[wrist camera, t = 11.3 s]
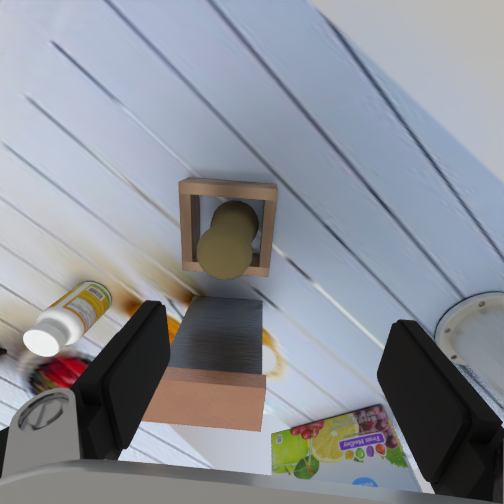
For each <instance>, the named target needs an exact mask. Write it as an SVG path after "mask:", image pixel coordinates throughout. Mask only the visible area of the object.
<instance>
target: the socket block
mask: <svg viewBox="0 0 504 504" xmlns="http://www.w3.org/2000/svg"><path fill="white" fill-rule="evenodd" d="M277 191H278V189H277V186H276V184H268V183H255V182H241V181H228V180H215V179H201V178H187V179H184V180H182V181H179V203H180V224H181V245H182V265H183V270H187V271H199V272H205V271H204V270H203V269H202V268H201V266H200V265H199V262H198V259H197V245H198V242H199V239H200V205H199V195H206V196H219V197H232V198H245V199H258V200H264V210H263V222H262V233H261V245H260V254H254V253H252V261H251V263H250V265H249V267H248V268H247V270H246V271H245V272H244V273H243V274H242V275H249V276H261V277H268V276H269V266H270V257H271V248H272V238H273V229H274V219H275V210H276V201H277Z"/></svg>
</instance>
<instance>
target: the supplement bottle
mask: <svg viewBox="0 0 504 504" xmlns="http://www.w3.org/2000/svg"><path fill="white" fill-rule="evenodd" d="M110 305H111V296H110V294H109V292H108V291H107V290H106V289H105V288H104V287H103V286H102V285H100V284H98V283H95V282H83V283H81V284H79V285H78V286H76V287H75V288H74V289H72V290H71V291H70V292H68V293H67V294H66V295H64V296H63V297H62V298H60V299H59V300H58V301H56V302H55V303H54V304H52V305H51V306H50V307H48V308H47V309H45V310H44V311H43V312H42V313H41V314H40V315H39V316H38V318H37V324H36V325H34V326H33V327H32V328H31V329H29V330H28V331H27V332H26V333H25V334H24V337H23V340H24V343H25V345H26V346H27V348H28V349H29V350H31V351H32V352H34V353H35V354H38V355H41V356H53V355H55V354H57V353H58V352H59V351H60V350H61V349H62V348H63V347H64V346H65V345H69V344H73V343H75V342H76V341H78V340H79V339H80V338H81V337H82V336H83V335H84V334H85V333H86V332H87V331H88V330H89V329H90V328H91V327H92V326H93V324H94V323H95V322H96V321H97V320H98V319H99V318H100V317H101V316H102V315H103V314H104V313H105V312H106V311H107V310H108V309H109V307H110Z"/></svg>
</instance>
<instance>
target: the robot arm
mask: <svg viewBox="0 0 504 504" xmlns="http://www.w3.org/2000/svg"><path fill="white" fill-rule="evenodd" d="M435 341H436V344H435V342H434V341H433V340H432V339H431V338H430V337H429V335H428V334H427V333H426V332H425V331H424V330H423V328H422V327H421V326H420V325H419V324H418V323H417V322H416V321H414V320H398V321H397V322H396V323H393V324H392V327H391V330H390V333H389V336H388V339H387V343H386V346H385V349H384V352H383V355H382V358H381V362H380V365H379V368H378V371H377V378H378V382H379V384H380V386H381V388H382V390H383V393H384V395H385V397H386V399H387V401H388V403H389V405H390V408H391V410H392V412H393V414H394V416H395V418H396V420H397V422H398V425H399V427H400V429H401V431H402V433H403V435H404V437H405V440H406V442H407V444H408V446H409V448H410V450H411V452H412V455H413V457H414V459H415V461H416V463H417V465H418V467H419V469H420V472H421V474H422V476H423V477H424V479H425V480H426V481H427V482H430V484H431V486H432V488H433V490H434V492H435V494H430V493H422V492H413V491H404V490H396V489H387V488H378V487H370V486H361V485H352V484H344V483H335V482H325V481H316V480H307V479H298V478H289V477H280V476H270V475H261V474H251V473H243V472H233V471H223V470H214V469H204V468H194V467H184V466H175V465H165V464H154V463H142V462H130V461H117V460H118V458H119V456H120V454H121V452H122V450H123V449H127V448H128V447H129V445H130V443H131V441H132V439H133V437H134V435H135V433H136V431H137V429H138V426H139V424H140V422H141V420H142V418H143V416H144V414H145V412H146V410H147V408H148V406H149V404H150V401H151V399H152V397H153V395H154V393H155V391H156V389H157V387H158V385H159V383H160V381H161V379H162V377H163V374H164V372H165V370H166V368H167V366H168V364H169V362H170V357H171V352H170V343H169V334H168V324H167V315H166V307H165V305H162V303H161V302H160V301H150V300H146V301H145V302H144V303H143V304H142V305H141V306H140V308H139V309H138V310H137V311H136V312H135V314H134V315H133V316H132V317H131V318H130V320H129V321H128V322H127V323H126V324H125V326H124V327H123V328H122V329H121V330H120V331H119V332H118V333H117V334H115V336H114V337H113V338H112V339H111V340H110V341H109V343H108V344H107V345H106V346H105V347H104V348H103V350H102V351H101V352H100V353H99V354H98V356H97V357H96V358H95V359H94V360H93V361H92V363H91V364H90V365H89V366H88V367H87V369H86V370H85V371H84V372H83V373H82V374H81V376H80V377H79V378H78V379H77V380H76V381H75V383H74V384H73V385H72V386H71V387H70V389H67V388H55V389H51V390H48V391H45V392H43V393H41V394H39V395H37V396H35V397H33V398H32V399H31V400H29V401H28V402H26V403H25V404H24V405H23V406H22V407H21V408H20V409H19V410H18V411H17V412H16V414H15V415H14V416H13V418H12V421H11V423H10V426H9V427H7V428H5V429H3V430H1V431H0V504H504V428H503V427H502V426H501V425H502V423H503V422H502V420H501V419H500V418H499V417H498V416H497V415H496V414H495V412H494V411H493V410H492V409H491V408H490V407H489V405H488V404H487V403H486V402H485V401H484V400H483V398H482V397H481V396H480V395H479V394H478V393H477V391H476V390H475V389H474V388H473V387H472V386H471V384H470V383H469V382H468V381H467V380H466V379H465V377H464V376H463V375H462V374H461V373H460V372H459V370H458V369H457V368H456V367H455V366H454V365H453V363H452V362H454V363H456V364H460V365H465V366H469V367H470V368H471V369H472V370H473V371H474V372H475V373H476V374H477V376H478V377H479V378H480V379H481V380H482V381H483V382H484V383H485V384H486V385H487V386H488V387H489V388H490V389H491V390H492V392H493V393H494V394H495V395H496V396H497V397H498V398H499V399H500V400H501V401H502V402H503V403H504V293H500V292H493V293H485V294H480V295H477V296H474V297H471V298H468V299H466V300H464V301H462V302H460V303H459V304H457V305H456V306H454V307H453V308H452V309H451V310H450V311H448V312H447V313H446V314H445V316H444V317H443V318H442V319H441V321H440V323H439V325H438V327H437V329H436V333H435ZM451 361H452V362H451ZM104 459H106V460H104Z"/></svg>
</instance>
